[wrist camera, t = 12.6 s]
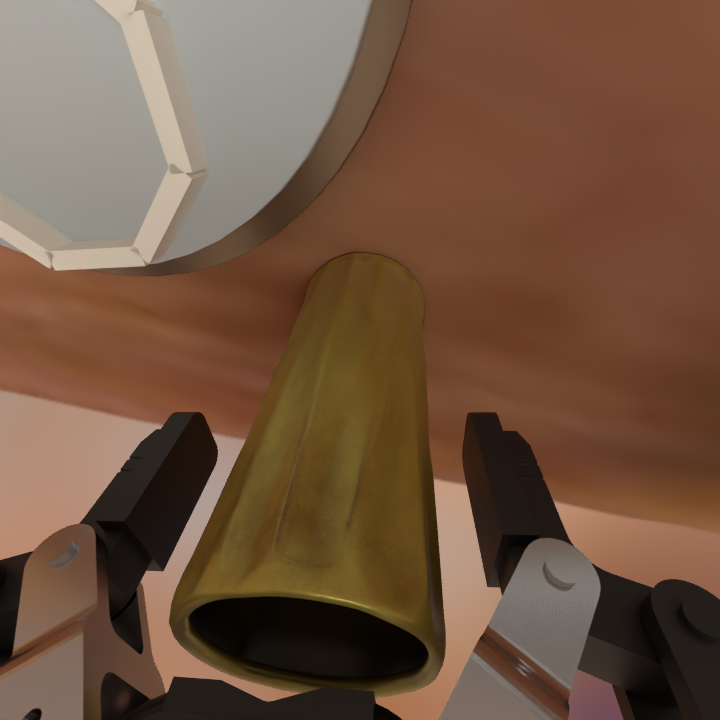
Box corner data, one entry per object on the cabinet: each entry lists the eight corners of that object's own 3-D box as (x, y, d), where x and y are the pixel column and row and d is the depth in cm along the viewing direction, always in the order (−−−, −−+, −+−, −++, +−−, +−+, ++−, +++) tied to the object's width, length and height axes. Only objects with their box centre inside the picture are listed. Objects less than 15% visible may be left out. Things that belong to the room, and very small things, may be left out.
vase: (409, 234, 16) (437, 562, 4) (435, 346, 19) (493, 710, 8) (286, 270, 18) (62, 586, 6) (329, 369, 21) (240, 702, 9)
